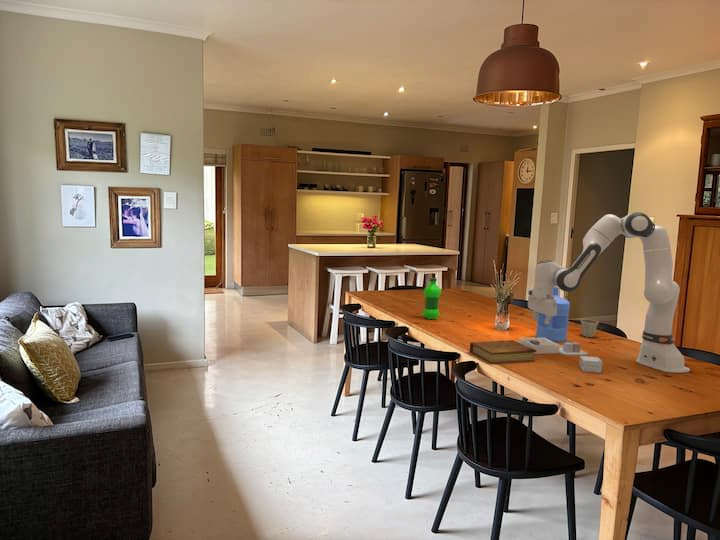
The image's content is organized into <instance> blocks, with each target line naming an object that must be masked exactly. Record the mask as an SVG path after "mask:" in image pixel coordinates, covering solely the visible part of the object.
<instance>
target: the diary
mask: <svg viewBox="0 0 720 540" xmlns="http://www.w3.org/2000/svg"><path fill="white" fill-rule="evenodd" d="M534 352H536V350H534V349H532V348H530V347H527V346H525V345H523V344H520V343H518V341H515V340H512V339H510V340H492V341H473V342H472V341H470V343H469V353H470V354H472V355H474V356H475V357H478V358H479V359H481V360H483V361H485V362H487V363H489V364H491V365H496V364H499V365H500V364H510V363H511V364H513V363H526V362H527V363H529V362H536V359H535V358H534V356H535V355H534Z"/></svg>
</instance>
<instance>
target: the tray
mask: <svg viewBox="0 0 720 540" xmlns="http://www.w3.org/2000/svg"><path fill="white" fill-rule="evenodd" d="M558 354H559V355H562V356H565V357H566V356H567V357H568V356H571V357H572V356H590V354H589V353H588V352H586V351H584V350H583V349H580V352H565V351H563V345H560V351H559V353H558Z"/></svg>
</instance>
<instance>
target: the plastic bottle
mask: <svg viewBox="0 0 720 540" xmlns="http://www.w3.org/2000/svg"><path fill="white" fill-rule="evenodd" d="M437 280H438V279H437V278H436V277H430V278H429V282H430V283H429V284H428V285H427V286H426V287H424V289H423V296H425V302H424V303H425V304H424V308H423V311H422V314H423V316H424V317H425V318H428V319H427V320H430V319H434V320H435V319H437V318H438V317H439V316H440V311H439V310H440V309H439V298H440V296H441V295H442V289H441V288H440V287H439V286H438V284H437V283H436V282H437Z"/></svg>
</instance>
